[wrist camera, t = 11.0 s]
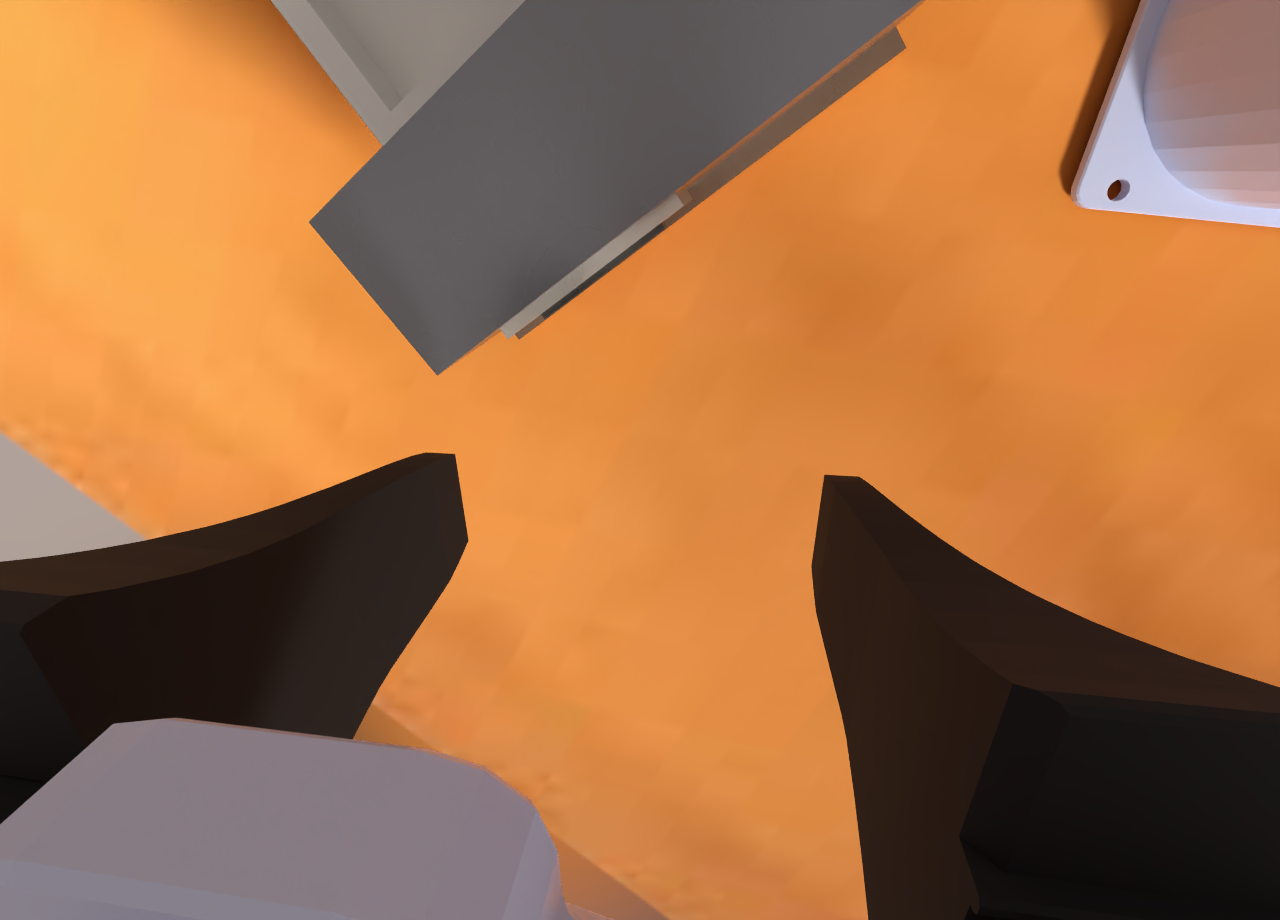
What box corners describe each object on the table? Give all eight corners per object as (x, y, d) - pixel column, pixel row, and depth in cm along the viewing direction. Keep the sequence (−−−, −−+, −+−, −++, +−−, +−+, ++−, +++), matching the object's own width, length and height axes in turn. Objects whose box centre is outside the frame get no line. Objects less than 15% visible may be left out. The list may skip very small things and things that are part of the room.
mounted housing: (799, -147, 14) (848, -393, 8) (896, 54, 16) (1003, -22, 9) (427, 200, 19) (277, 216, 13) (528, 331, 20) (437, 403, 14)
